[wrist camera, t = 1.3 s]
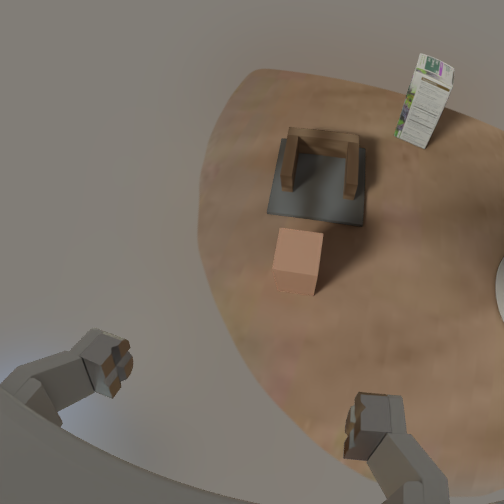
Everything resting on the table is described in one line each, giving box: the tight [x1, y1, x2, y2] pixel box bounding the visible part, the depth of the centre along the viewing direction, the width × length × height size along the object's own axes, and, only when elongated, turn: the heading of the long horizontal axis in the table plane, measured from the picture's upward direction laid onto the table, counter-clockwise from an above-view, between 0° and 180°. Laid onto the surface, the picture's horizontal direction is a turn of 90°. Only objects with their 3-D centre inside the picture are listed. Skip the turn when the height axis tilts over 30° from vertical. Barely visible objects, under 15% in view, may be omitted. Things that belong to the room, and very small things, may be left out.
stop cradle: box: [267, 127, 365, 227], centre depth 42 cm, size 13×13×5 cm
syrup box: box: [394, 54, 455, 149], centre depth 39 cm, size 6×6×14 cm
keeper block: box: [272, 228, 323, 296], centre depth 36 cm, size 4×4×9 cm
